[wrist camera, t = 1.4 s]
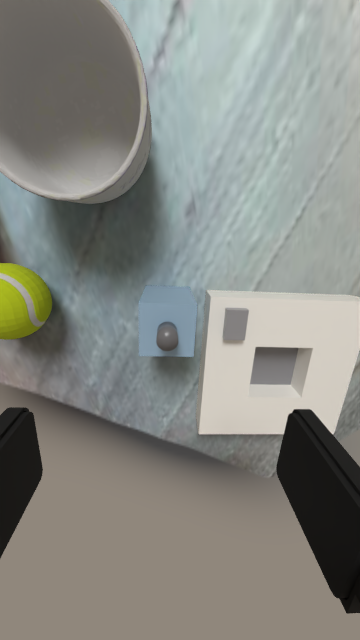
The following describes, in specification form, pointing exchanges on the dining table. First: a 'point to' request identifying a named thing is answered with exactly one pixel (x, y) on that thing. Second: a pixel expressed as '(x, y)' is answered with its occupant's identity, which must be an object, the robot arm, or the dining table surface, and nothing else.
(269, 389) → the socket
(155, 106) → the dining table surface
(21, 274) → the tennis ball
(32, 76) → the teacup
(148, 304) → the plug
